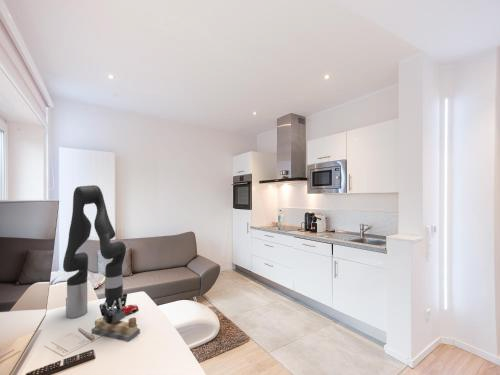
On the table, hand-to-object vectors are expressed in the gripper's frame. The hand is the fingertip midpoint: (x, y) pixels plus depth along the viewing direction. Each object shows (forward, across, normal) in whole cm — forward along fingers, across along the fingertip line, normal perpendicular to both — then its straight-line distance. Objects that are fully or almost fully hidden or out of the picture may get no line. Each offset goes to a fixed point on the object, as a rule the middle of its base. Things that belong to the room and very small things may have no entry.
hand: (114, 320), depth 116 cm
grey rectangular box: (-1, 0, 0) cm, 1 cm away
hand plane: (+6, 0, +1) cm, 6 cm away
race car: (+6, -16, -9) cm, 19 cm away
